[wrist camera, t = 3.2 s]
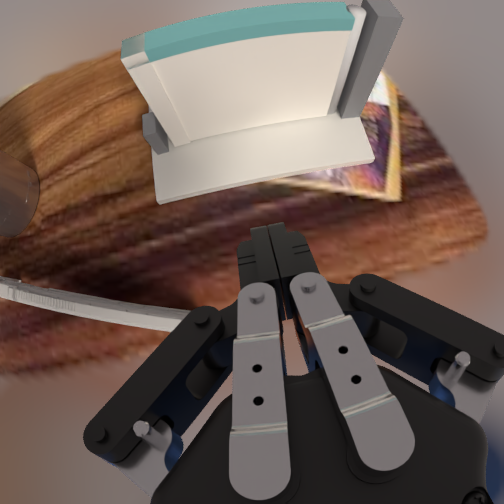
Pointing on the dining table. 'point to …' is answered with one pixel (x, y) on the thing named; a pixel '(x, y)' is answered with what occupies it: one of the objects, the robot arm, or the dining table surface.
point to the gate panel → (245, 67)
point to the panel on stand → (280, 131)
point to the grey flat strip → (92, 306)
